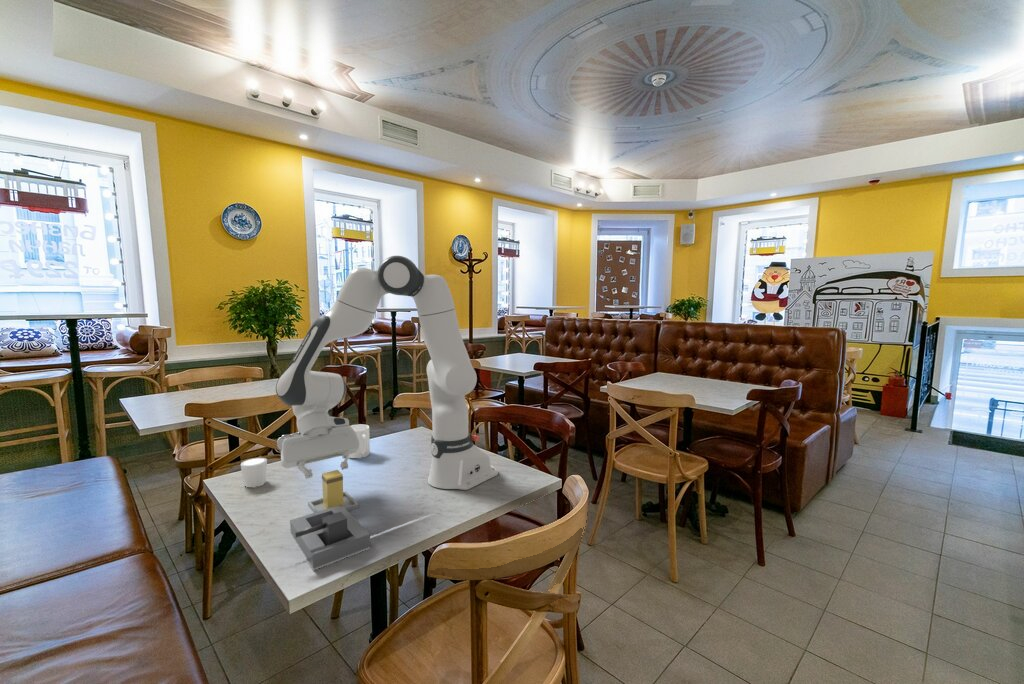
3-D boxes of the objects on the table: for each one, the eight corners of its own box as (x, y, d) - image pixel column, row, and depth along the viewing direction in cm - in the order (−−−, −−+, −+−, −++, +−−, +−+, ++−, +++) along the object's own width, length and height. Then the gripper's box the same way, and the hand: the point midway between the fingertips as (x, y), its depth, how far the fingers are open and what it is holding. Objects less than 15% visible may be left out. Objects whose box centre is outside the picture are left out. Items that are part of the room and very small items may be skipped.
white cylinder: (255, 489, 123) (254, 466, 122) (236, 487, 124) (234, 464, 124) (273, 480, 130) (272, 458, 129) (254, 478, 131) (253, 456, 130)
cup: (363, 449, 157) (363, 422, 156) (378, 457, 149) (378, 430, 148) (341, 454, 152) (340, 427, 151) (356, 464, 143) (355, 435, 142)
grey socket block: (341, 517, 107) (341, 489, 107) (370, 548, 94) (369, 516, 93) (281, 537, 98) (279, 506, 98) (302, 575, 85) (301, 539, 84)
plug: (338, 501, 115) (337, 469, 114) (343, 506, 112) (342, 474, 111) (323, 505, 112) (321, 473, 112) (327, 511, 109) (326, 478, 109)
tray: (345, 496, 119) (345, 491, 119) (359, 509, 112) (358, 504, 112) (308, 507, 113) (307, 502, 113) (319, 521, 105) (319, 516, 105)
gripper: (276, 430, 112) (287, 477, 106) (353, 417, 125) (366, 458, 119) (273, 442, 116) (283, 488, 109) (348, 428, 129) (361, 468, 123)
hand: (327, 472), depth 114 cm, fingers open, 8 cm apart
